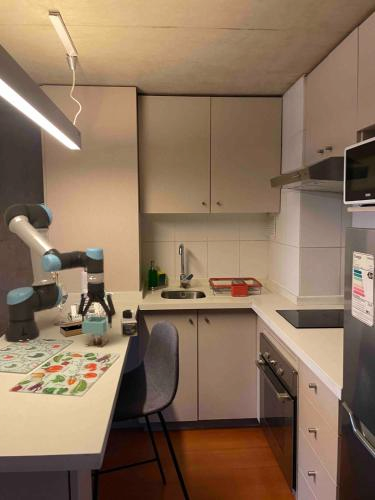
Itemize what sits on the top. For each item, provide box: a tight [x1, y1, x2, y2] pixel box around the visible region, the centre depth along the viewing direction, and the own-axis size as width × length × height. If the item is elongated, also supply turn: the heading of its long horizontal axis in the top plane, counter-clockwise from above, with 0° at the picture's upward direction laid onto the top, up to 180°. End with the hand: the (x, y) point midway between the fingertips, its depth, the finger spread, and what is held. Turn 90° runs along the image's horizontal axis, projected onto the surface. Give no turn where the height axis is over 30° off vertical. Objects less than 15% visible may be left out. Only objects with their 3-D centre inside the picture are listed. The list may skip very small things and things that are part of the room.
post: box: [85, 334, 110, 348], centre depth 169 cm, size 8×8×9 cm
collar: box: [81, 315, 113, 335], centre depth 169 cm, size 10×10×5 cm
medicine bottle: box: [120, 309, 138, 338], centre depth 182 cm, size 7×7×12 cm
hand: (97, 329), depth 169 cm, fingers closed on collar, 10 cm apart
